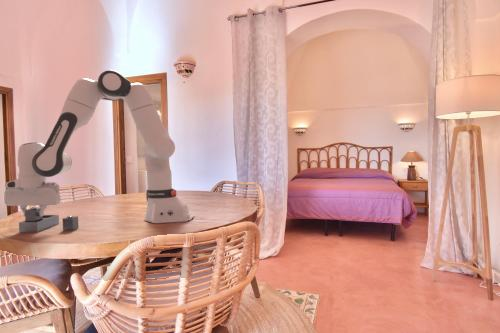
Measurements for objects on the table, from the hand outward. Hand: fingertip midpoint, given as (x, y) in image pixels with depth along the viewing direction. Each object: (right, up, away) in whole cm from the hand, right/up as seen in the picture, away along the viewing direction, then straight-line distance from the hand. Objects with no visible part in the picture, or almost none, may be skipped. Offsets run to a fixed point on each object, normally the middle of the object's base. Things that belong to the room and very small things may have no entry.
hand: (33, 216), depth 119 cm
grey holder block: (0, -6, +4) cm, 7 cm away
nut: (0, -2, 0) cm, 2 cm away
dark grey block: (+15, -6, +1) cm, 16 cm away
